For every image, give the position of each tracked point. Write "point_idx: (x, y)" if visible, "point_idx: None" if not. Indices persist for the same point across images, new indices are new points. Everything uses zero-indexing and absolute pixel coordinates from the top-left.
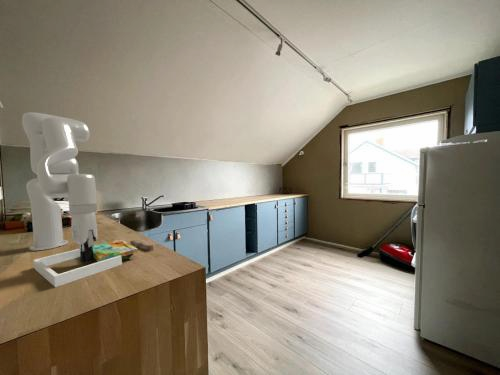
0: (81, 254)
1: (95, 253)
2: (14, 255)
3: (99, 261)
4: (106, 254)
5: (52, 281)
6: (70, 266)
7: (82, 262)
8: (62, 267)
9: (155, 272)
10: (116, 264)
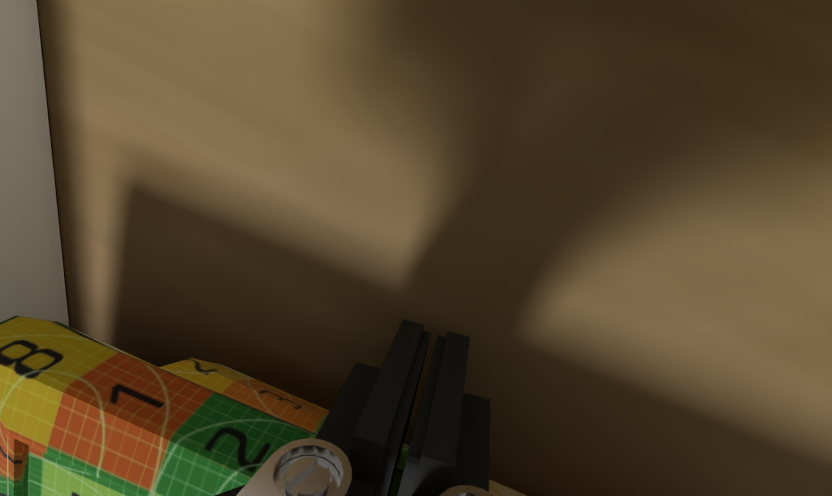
0: (391, 400)
1: (240, 480)
2: None
3: (9, 322)
4: (4, 458)
5: None
6: (579, 244)
7: (407, 321)
8: (676, 185)
9: None
10: None
